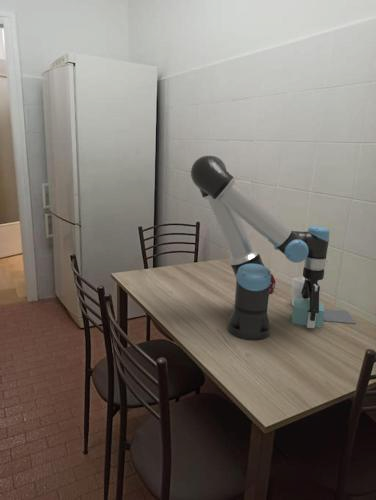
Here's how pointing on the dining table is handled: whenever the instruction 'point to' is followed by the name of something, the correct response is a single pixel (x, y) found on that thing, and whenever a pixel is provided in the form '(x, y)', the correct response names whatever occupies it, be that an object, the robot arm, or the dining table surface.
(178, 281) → the dining table surface
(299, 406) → the dining table surface
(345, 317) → the base mat
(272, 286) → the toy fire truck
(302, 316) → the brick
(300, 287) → the cup
